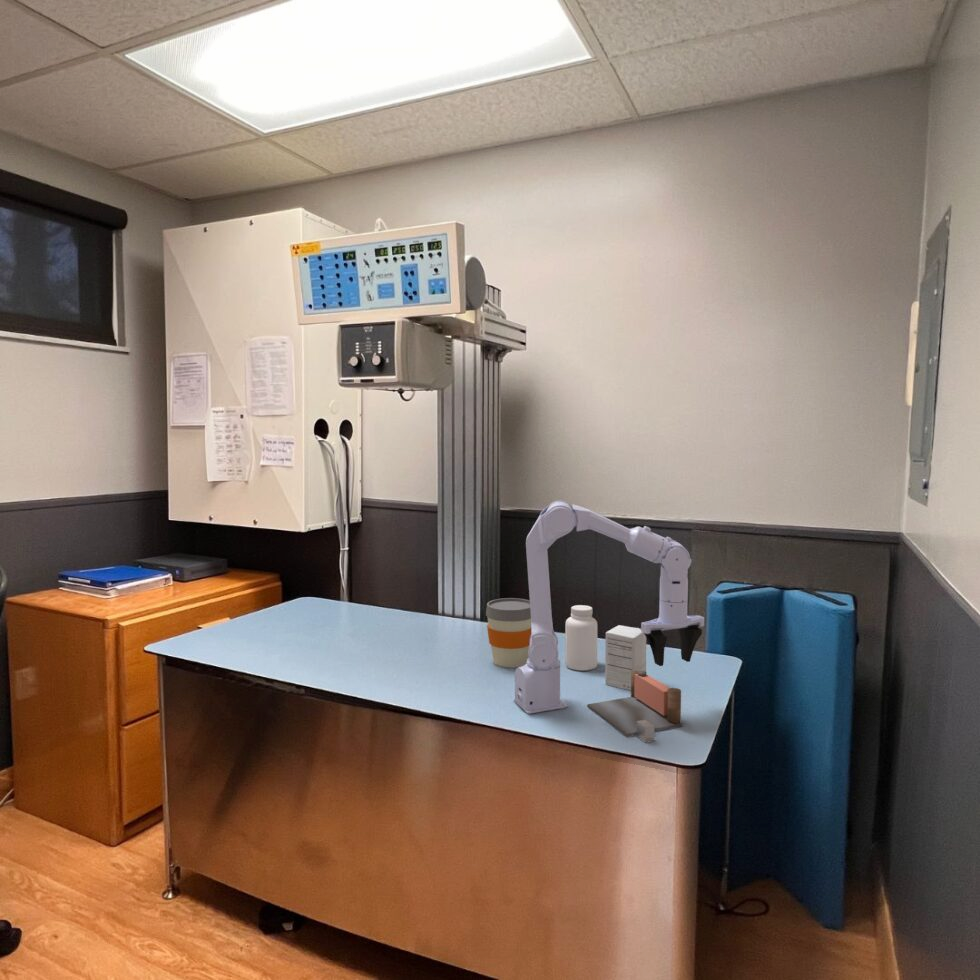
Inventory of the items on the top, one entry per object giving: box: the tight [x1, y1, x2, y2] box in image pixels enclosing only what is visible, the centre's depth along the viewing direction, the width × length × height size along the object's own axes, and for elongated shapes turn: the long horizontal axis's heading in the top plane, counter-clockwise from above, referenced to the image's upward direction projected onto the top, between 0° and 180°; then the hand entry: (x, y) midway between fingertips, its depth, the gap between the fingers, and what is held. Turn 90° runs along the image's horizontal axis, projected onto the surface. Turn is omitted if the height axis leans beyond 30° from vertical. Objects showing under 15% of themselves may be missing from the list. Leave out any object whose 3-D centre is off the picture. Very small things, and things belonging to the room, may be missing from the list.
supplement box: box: [604, 624, 647, 691], centre depth 161 cm, size 7×7×13 cm
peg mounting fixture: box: [586, 671, 684, 738], centre depth 143 cm, size 13×16×7 cm
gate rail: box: [634, 670, 670, 716], centre depth 146 cm, size 2×11×6 cm, turn 21°
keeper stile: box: [636, 720, 655, 744], centre depth 133 cm, size 2×3×3 cm, turn 21°
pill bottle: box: [564, 604, 598, 672], centre depth 173 cm, size 8×8×15 cm
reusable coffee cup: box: [485, 597, 532, 668], centre depth 177 cm, size 13×13×15 cm
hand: (672, 662), depth 147 cm, fingers open, 6 cm apart
